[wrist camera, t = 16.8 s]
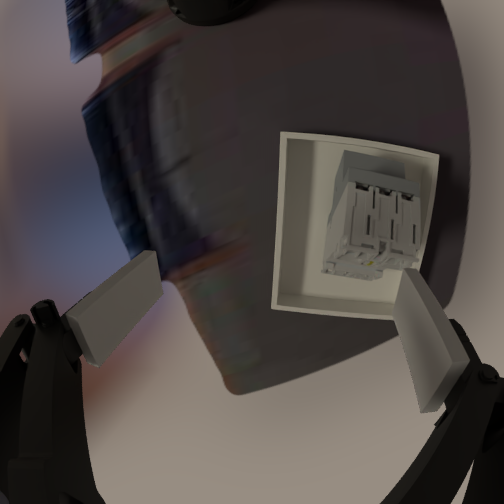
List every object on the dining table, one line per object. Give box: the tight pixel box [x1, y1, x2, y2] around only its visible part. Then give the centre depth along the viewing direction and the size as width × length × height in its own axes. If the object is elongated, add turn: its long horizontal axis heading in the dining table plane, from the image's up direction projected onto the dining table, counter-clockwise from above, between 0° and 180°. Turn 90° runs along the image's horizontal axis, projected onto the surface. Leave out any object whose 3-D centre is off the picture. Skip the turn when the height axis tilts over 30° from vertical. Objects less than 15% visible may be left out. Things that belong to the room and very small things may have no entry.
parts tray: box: [271, 132, 439, 320], centre depth 37 cm, size 26×22×4 cm
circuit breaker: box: [321, 150, 421, 281], centre depth 30 cm, size 8×14×15 cm
